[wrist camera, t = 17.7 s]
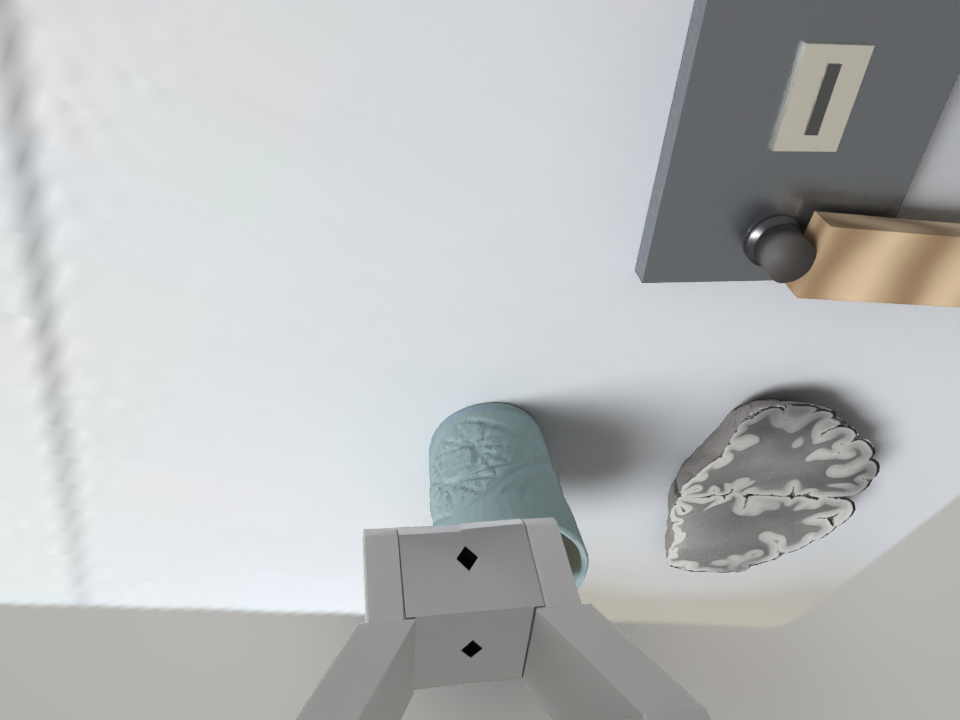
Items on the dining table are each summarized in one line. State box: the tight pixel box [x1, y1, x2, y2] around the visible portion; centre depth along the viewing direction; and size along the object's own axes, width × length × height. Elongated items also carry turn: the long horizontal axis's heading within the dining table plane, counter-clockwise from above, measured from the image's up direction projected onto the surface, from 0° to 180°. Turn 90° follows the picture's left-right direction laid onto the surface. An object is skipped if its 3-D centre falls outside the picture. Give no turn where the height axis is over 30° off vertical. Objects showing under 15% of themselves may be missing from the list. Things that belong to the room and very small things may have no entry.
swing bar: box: [754, 211, 960, 307], centre depth 50 cm, size 17×5×2 cm, turn 81°
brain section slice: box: [665, 399, 880, 573], centre depth 65 cm, size 20×17×3 cm
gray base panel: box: [635, 0, 960, 283], centre depth 43 cm, size 28×16×2 cm, turn 176°
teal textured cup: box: [429, 403, 588, 588], centre depth 54 cm, size 10×10×12 cm
